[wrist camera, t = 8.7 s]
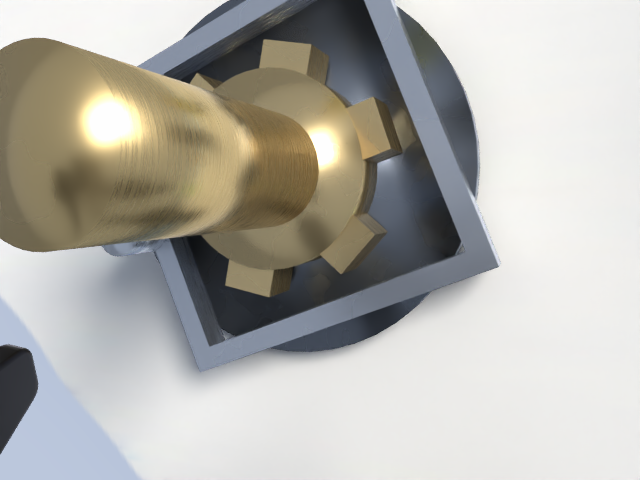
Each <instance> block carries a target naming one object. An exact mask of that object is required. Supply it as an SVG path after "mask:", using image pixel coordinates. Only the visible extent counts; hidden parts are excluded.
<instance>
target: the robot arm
mask: <svg viewBox="0 0 640 480" xmlns="http://www.w3.org/2000/svg"><path fill="white" fill-rule="evenodd" d="M37 390H38V380H37V375H36V370H35V366H34V361H33V356H32V353H31V352H30V351H29V350H28V349H26V348H22V347H18V346H14V345H10V344H8V345H3V346H0V454H1V453H2V451H3V449H4V447H5V446H6V444H7V443H8V441H9V439H10V438H11V436H12V434H13V433H14V431H15V429H16V428H17V426H18V424H19V423H20V421H21V419H22V418H23V416H24V414H25V413H26V411H27V410H28V408H29V406H30V404H31V403H32V401H33V400H34V398H35V396H36V393H37Z"/></svg>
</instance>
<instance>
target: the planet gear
mask: <svg viewBox="0 0 640 480" xmlns="http://www.w3.org/2000/svg"><path fill="white" fill-rule="evenodd" d="M328 62H329V56H328V55H327V54H325V53H324V52H322V51H321V50H319V49H318V48H316V47H315V46H313V45H312V44H304V43H294V42H285V41H276V40H266V39H264V40H263V46H262V53H261V59H260V66H259V68H258V69H254V70H250V71H246V72H243V73H241V74H238V75H236V76H234V77H232V78H230V79H229V80H227V81H225V82H224V83H223V82H221V81H218V80H215V79H213V78H210V77H207V76H204V75H202V74H199V73H196V75H195V76H194V78H193V79H192V81H191V82H190V84H188V83H185V82H182V81H179V80H176V79H173V78H170V77H167V76H164V75H160V74H157V73H154V72H151V71H148V70H145V69H142V68H139V67H136V66H133V65H130V64H127V63H124V62H121V61H117V60H114V59H111V58H108V57H105V56H102V55H99V54H96V53H93V52H90V51H87V50H84V49H81V48H78V47H74V46H71V45H68V44H65V43H62V42H59V41H56V40H51V39H47V38H30V39H23V40H20V41H17V42H14V43H12V44H10V45H8V46H6V47H4V48H2V49H1V50H0V239H2V240H3V241H5V242H7V243H8V244H10V245H12V246H14V247H17V248H20V249H22V250H27V251H32V252H48V251H57V250H66V249H75V248H84V247H94V246H103V245H112V244H121V243H130V242H139V241H149V240H158V239H167V238H176V237H185V236H194V235H202V237H203V238H204V239H205V240H206V241H207V242H208V243H209V244H210V245H211V246H212V247H213V248H214V249H215V250H216V251H218V252H219V253H220V254H222V255H223V256H225V257H226V258H228V259H229V265H228V271H227V277H226V284H225V286H229V287H233V288H236V289H240V290H244V291H248V292H251V293H255V294H259V295H262V296H266V297H272V296H274V295H277V294H280V293H282V292H285V291H288V290H289V289H290V284H291V278H292V272H293V266H297V265H300V264H304V263H307V262H311V261H315V260H318V259H320V258H324V259H325V260H326V261H327V262H328V263H329V264H330V265H332V266H333V267H334V268H335V269H336V270H337V271H338V272H339V273H340V274H343V273H346V272H348V271H351V270H354V269H356V268H357V267H358V266H359V265H360V264H361V263H362V261H363V260H364V259H365V258H366V257H367V256H368V254H369V253H370V252H371V251H372V250H373V249H374V248H375V246H376V245H377V244H378V243H379V242H380V241H381V239H382V238H383V237H384V236H385V235H386V234H387V232H388V231H387V230H385V229H384V228H383V227H382V226H381V225H380V224H379V223H378V222H377V221H375V220H374V219H373V218H372V217H371V216H370V215H369V214H368V212H369V209H370V207H371V204H372V202H373V198H374V194H375V190H376V184H377V163H378V162H381V161H383V160H386V159H388V158H391V157H394V156H396V155H399V154H401V153H403V151H402V148H401V145H400V142H399V139H398V136H397V133H396V130H395V127H394V124H393V121H392V118H391V115H390V112H389V109H388V106H387V104H385V103H383V102H382V101H380V100H378V99H377V98H375V97H371V98H369V99H367V100H364V101H362V102H360V103H357V104H355V105H352V104H351V103H350V102H349V101H348V100H347V99H346V98H345V97H344V96H342V95H341V94H340V93H338V92H337V91H335V90H333V89H332V88H330V87H328V86H326V85H325V79H326V74H327V68H328Z"/></svg>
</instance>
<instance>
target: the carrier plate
mask: <svg viewBox="0 0 640 480" xmlns="http://www.w3.org/2000/svg"><path fill="white" fill-rule="evenodd" d="M264 39H266V40H276V41H285V42H294V43H304V44H312V45H313V46H315V47H316V48H318V49H319V50H321V51H322V52H324V53H325V54H327V55H328V56H329V62H328V68H327V74H326V79H325V85H326V86H328V87H330V88H332V89H333V90H335V91H337V92H338V93H340V94H341V95H342V96H344V97H345V98H346V99H347V100H348V101H349V102H350V103H351V104H352V105H355V104H357V103H360V102H362V101H364V100H367V99H369V98H371V97H375V98H377V99H378V100H380V101H382V102H383V103H385V104H387V106H388V109H389V112H390V115H391V118H392V121H393V124H394V127H395V130H396V133H397V136H398V139H399V142H400V145H401V148H402V151H403V153H401V154H399V155H396V156H394V157H391V158H388V159H386V160H383V161H381V162H378V163H377V184H376V190H375V194H374V198H373V202H372V204H371V207H370V209H369V212H368V214H369V215H370V216H371V217H372V218H373V219H374V220H375V221H377V222H378V223H379V224H380V225H381V226H382V227H383V228H384V229H385V230H387V231H388V232H387V234H386V235H385V236H384V237H383V238H382V239H381V241H380V242H379V243H378V244H377V245H376V246H375V248H374V249H373V250H372V251H371V252H370V253H369V254H368V256H367V257H366V258H365V259H364V260H363V261H362V263H361V264H360V265H359V266H358V267H357V268H356V269H354V270H351V271H348V272H346V273H343V274H340V273H339V272H338V271H337V270H336V269H335V268H334V267H333V266H332V265H330V264H329V263H328V262H327V261H326V260H325V259H324V258H320V259H318V260H315V261H311V262H307V263H304V264H300V265H297V266H293V272H292V278H291V284H290V289H289V290H288V291H285V292H282V293H280V294H277V295H274V296H272V297H266V296H262V295H259V294H255V293H251V292H248V291H244V290H240V289H236V288H233V287H229V286H225V284H226V277H227V271H228V265H229V259H228V258H226V257H225V256H223V255H222V254H220V253H219V252H218V251H216V250H215V249H214V248H213V247H212V246H211V245H210V244H209V243H208V242H207V241H206V240H205V239H204V238H203V237H202V235H194V236H185V237H176V238H167V239H158V240H149V241H139V242H130V243H121V244H112V245H103V246H102V247H103V248H104V250H105V251H106V252H108V253H109V254H111V255H113V256H126V255H132V254H139V253H146V252H153V251H154V254H155V256H156V258H157V260H158V261H159V263H160V265H161V267H162V270H163V273H164V276H165V278H166V281H167V284H168V286H169V289H170V292H171V295H172V297H173V300H174V303H175V305H176V308H177V311H178V314H179V316H180V319H181V322H182V325H183V327H184V330H185V333H186V335H187V338H188V341H189V344H190V346H191V349H192V352H193V354H194V357H195V360H196V363H197V365H198V368H199V371H200V372H202V371H205V370H208V369H211V368H214V367H217V366H219V365H222V364H225V363H228V362H231V361H234V360H236V359H239V358H242V357H245V356H248V355H251V354H253V353H256V352H259V351H262V350H265V349H268V348H273V349H279V350H285V351H305V352H312V351H321V350H330V349H335V348H339V347H343V346H347V345H351V344H355V343H357V342H359V341H362V340H364V339H367V338H369V337H371V336H374V335H376V334H378V333H380V332H381V331H383V330H385V329H386V328H388V327H390V326H391V325H393V324H395V323H396V322H398V321H399V320H400V319H401V318H403V317H404V316H405V315H406V314H408V313H409V312H410V311H411V310H413V309H414V308H415V307H416V306H417V305H419V304H420V303H421V302H422V301H423V300H424V299H425V297H426V296H427V295H428V294H429V293H430V292H431V291H432V290H435V289H438V288H440V287H443V286H446V285H449V284H452V283H455V282H458V281H460V280H463V279H466V278H469V277H472V276H475V275H477V274H480V273H483V272H486V271H489V270H492V269H494V268H497V267H499V266H500V264H501V261H500V259H499V256H498V254H497V251H496V249H495V247H494V244H493V242H492V239H491V237H490V234H489V232H488V229H487V227H486V224H485V222H484V219H483V217H482V215H481V212H480V210H479V207H478V205H477V202H476V200H477V195H478V186H479V174H480V157H479V141H478V135H477V130H476V124H475V119H474V115H473V112H472V109H471V106H470V103H469V100H468V97H467V94H466V91H465V89H464V87H463V85H462V83H461V81H460V79H459V77H458V75H457V73H456V71H455V69H454V68H453V66H452V65H451V63H450V62H449V60H448V59H447V57H446V56H445V54H444V53H443V51H442V50H441V49H440V47H439V46H438V44H437V43H436V42H435V40H434V39H433V38H432V37H431V36H430V35H429V34H428V33H427V32H426V31H425V30H424V29H423V27H422V26H421V25H420V24H419V23H418V22H416V21H415V20H414V19H413V18H411V17H410V16H409V15H408V14H406V13H405V12H404V11H403V10H401V9H400V8H399V7H397V6H396V3H395V1H394V0H229V1H227V2H226V3H224V4H222V5H221V6H219V7H218V8H217V9H215V10H214V11H212V12H211V13H210V14H208V15H207V16H205V17H204V18H203V19H202V20H201V21H200V22H199V23H198V24H197V25H195V26H194V27H193V28H192V29H191V30H190V31H189V32H188V33H187V34H186V36H185V37H184V38H183V39H182V40H180V41H178V42H177V43H175V44H173V45H172V46H170V47H168V48H167V49H165V50H164V51H162V52H160V53H159V54H157V55H155V56H154V57H152V58H150V59H149V60H147V61H145V62H144V63H142V64H141V65H139V66H137V67H139V68H142V69H145V70H148V71H151V72H154V73H157V74H160V75H164V76H167V77H170V78H173V79H176V80H179V81H182V82H185V83H188V84H190V82H191V81H192V79H193V78H194V76H195V75H196V73H199V74H202V75H204V76H207V77H210V78H213V79H215V80H218V81H221V82H223V83H224V82H225V81H227V80H229V79H230V78H232V77H234V76H236V75H238V74H241V73H243V72H246V71H250V70H254V69H258V68H259V66H260V59H261V53H262V46H263V40H264ZM462 245H463V247H464V249H465V251H463V252H461V253H458V252H459V250H460V248H461V246H462ZM221 328H222V329H223V330H225V331H227V332H228V333H231V334H233V335H235V336H234V337H231V338H228V339H226V340H225V339H224V336H223V334H222V331H221Z"/></svg>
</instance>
